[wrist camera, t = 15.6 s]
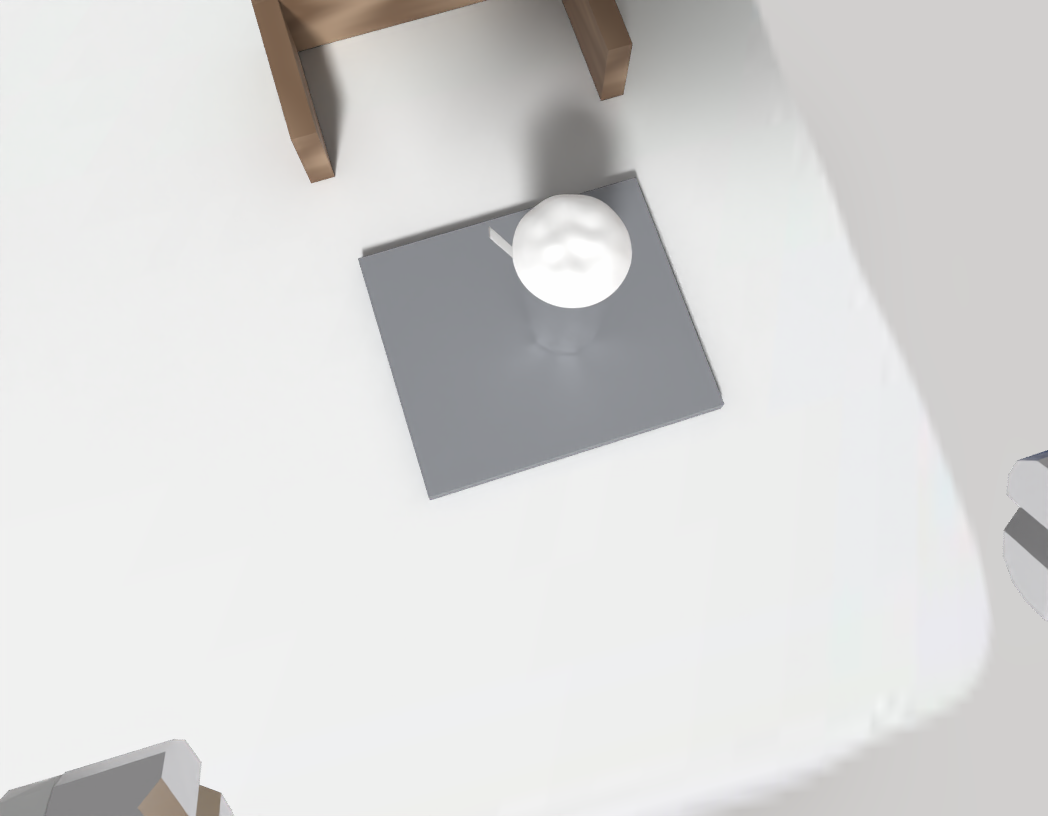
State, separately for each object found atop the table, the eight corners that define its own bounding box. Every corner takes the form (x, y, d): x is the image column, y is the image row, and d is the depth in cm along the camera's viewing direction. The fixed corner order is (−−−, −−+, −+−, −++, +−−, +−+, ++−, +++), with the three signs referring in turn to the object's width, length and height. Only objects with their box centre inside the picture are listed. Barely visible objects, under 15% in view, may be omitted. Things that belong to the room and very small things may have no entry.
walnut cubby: (311, 183, 44) (290, 139, 41) (269, 38, 46) (246, -16, 43) (623, 94, 46) (632, 43, 42) (569, -43, 48) (573, -103, 44)
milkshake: (494, 280, 42) (485, 174, 33) (607, 274, 42) (632, 166, 33) (499, 372, 41) (491, 290, 31) (615, 366, 41) (643, 282, 31)
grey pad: (430, 500, 40) (428, 497, 40) (360, 265, 43) (358, 258, 43) (720, 408, 42) (724, 404, 41) (633, 185, 44) (635, 177, 44)
